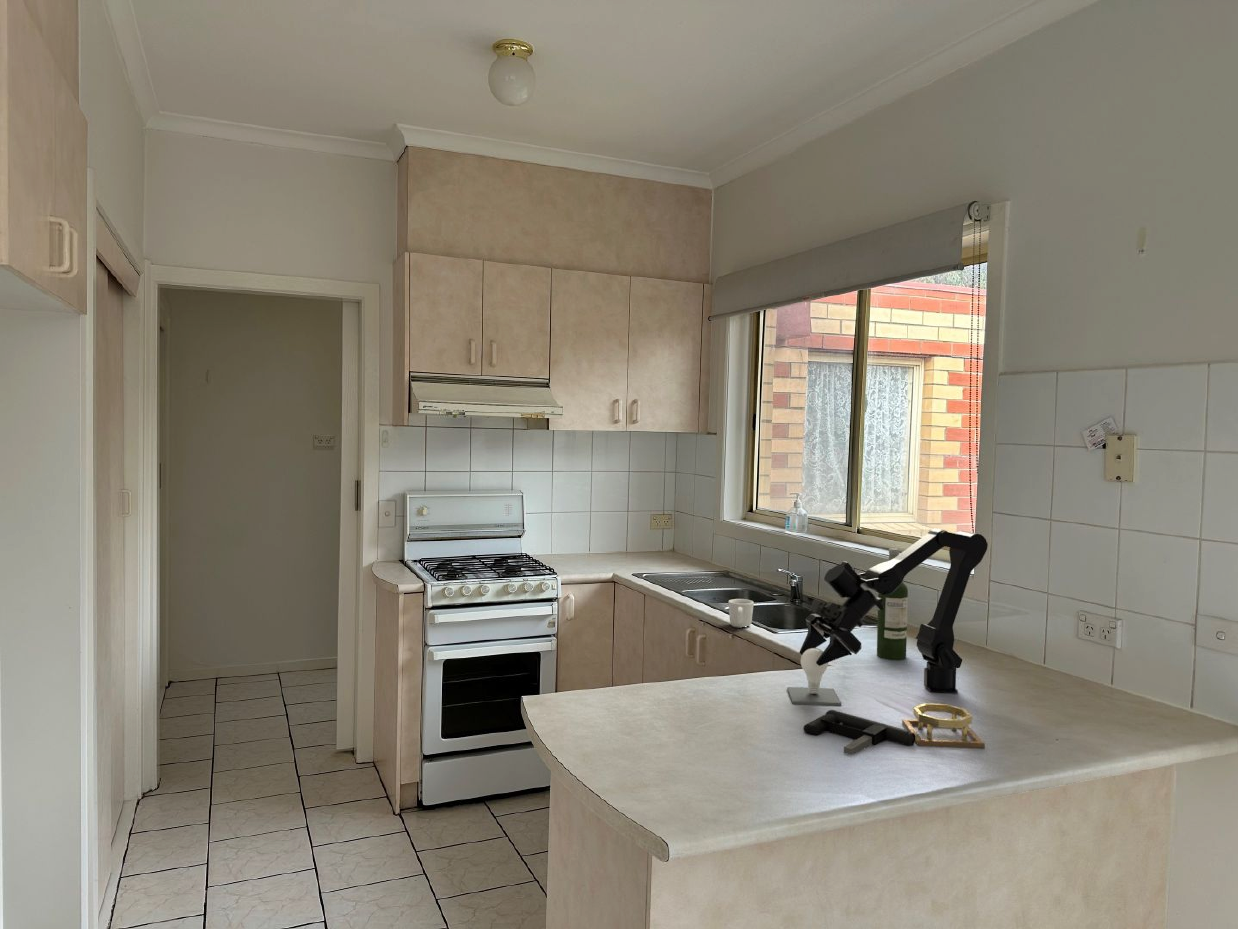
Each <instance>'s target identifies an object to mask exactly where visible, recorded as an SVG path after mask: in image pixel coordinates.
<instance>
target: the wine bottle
mask: <svg viewBox="0 0 1238 929" xmlns="http://www.w3.org/2000/svg"><path fill="white" fill-rule="evenodd" d="M899 554H900V550H899V548H889V549H888V561H890V560H892V559H894V558H895V557H897V556H898V555H899ZM908 595H909V591H908V586H907V585H906V584H905V583H904V582H903V581H902V583H901V585H900V586H899V587H898V588H897V589H896V590H895V591H894V592H893V593H891V594H890V595H881V594H879V593H877V597H879V598H881V599H883V601H882V604H883V610H882V611H881V610H879V609H877V625H876V626H877V629H876V630H877V632H876V633H877V634H876V655H877V656H878V658H881V657H882V659H886V660H893V659H895V660H899V661H900V660H904V659H906V658H907V643H908V641H907V640H908V638H907V637H908V631H907V630H908V603H909V601H908V600H909V599H908V598H909V596H908ZM895 660H894V661H895Z"/></svg>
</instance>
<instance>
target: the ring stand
mask: <svg viewBox="0 0 1238 929" xmlns="http://www.w3.org/2000/svg"><path fill="white" fill-rule="evenodd" d="M927 712H931V713H935V712H936V713H946V714H947V713H948V714H951V718H938V717H934V716H932V715H928V714H925V713H927ZM912 713H913V716H914V717H915V718H916V719H914V718H913V719H911V718H902V720H901V722H902V723H901V724H902V725H903V727H904V728H905V730H908V731H910V732H912V733H914V734H915V744H916V746H919V747H942V748H943V747H946V748H951V747H952V748H969V749H974V748H975V749H986V748H985V745H986V742H984V741H983V740H982V739H981V738H980V736H978V735H977V733H976V732H975V731H974V730H973V729H972V728H971V726H970V725H971V724H973V715H972V714H971V713H969V711H968V709H966V708H962V707H959V706H955V705H951V704H949V703H929V702H927V703H926V702H925V703H921V704H919V705H916V706H914V707H913V712H912ZM958 717H961V718H958ZM915 726H917V729H918V730H920V731H923V730H924V727H926V738H922V737H921V736H920V734H919V733H918V732H917V731H916V730H915ZM933 727H935V728H947V729H948V728H950V729H951V731H952V732H957V729H961V740H957V739H956V740H954V739H951V740H949V739H933ZM968 737H969V738H970V740H968Z"/></svg>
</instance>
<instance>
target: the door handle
mask: <svg viewBox="0 0 1238 929" xmlns="http://www.w3.org/2000/svg"><path fill="white" fill-rule="evenodd" d="M803 731H804V733H805V734H807V735H809V736H810V735H811V736H818V735H820V734H822V733H824V732H827V733H830V734H833V735H837V736H840V737H842V738H843V737H844V738H847V739H851V740H853V741H852V742H849V743H848V744H846V745H845V746H843V754H847V755H849V754H850V756H853V755H854V754H856V753H859V752H861V751H863V750H865V749H866V748H869V747H871V746H873V747H874V746H877V745H879V744H881V743H883V742H886V741H889V742H892V743H896V744H900V745H903V746H914V745H915V744H916V742H915V734H914V733H912V732H910V731H908V730H906V728H905V729H904V728H901V727H897V726H893V725H891V724H887V723H883V722H882V723H881V722H879V721H876V720H875V721H874V720H871V719H867V718H865V717H860V716H857V715H854V714H850V713H846V712H841V711H838V710H834V709H829V710H828V711H826V713H825V714H824V715H822V716H820V717H817V718H816V719H813V720H811V721H810V722H808V723H806V724H804V725H803ZM864 748H865V749H864ZM852 754H853V755H852Z"/></svg>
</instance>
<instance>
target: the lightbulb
mask: <svg viewBox="0 0 1238 929" xmlns="http://www.w3.org/2000/svg"><path fill="white" fill-rule="evenodd" d="M823 652H824V650H822V649H820V648H818V647H816V648H810V649H808V650H806V651H805V652H804V653H803V654H802V655H801V656H800V666H801V668H802V670H803V671H804V673H805V676H806V679H807V688H808V692H809V693H810V694H812V695H816V694H818V693H820V690H819V689H820V688H821V686H820V685H821V681H822V679H823V675H824V674H825V672H826V671H827V669H828V667H829V662H828V663H826V664H823V665H821V666H819V665H817V664H816V662H817V660H818V658H819V657H820V656H821V654H822V653H823Z"/></svg>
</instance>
